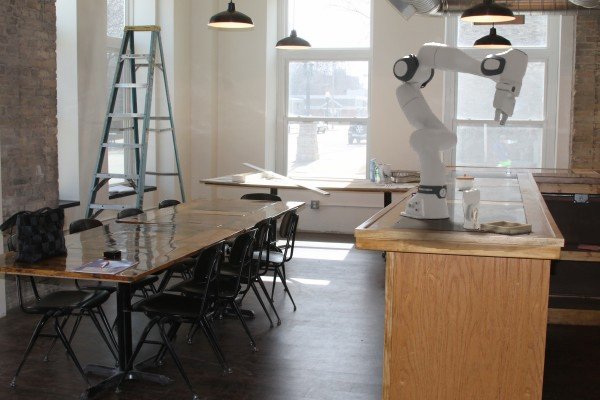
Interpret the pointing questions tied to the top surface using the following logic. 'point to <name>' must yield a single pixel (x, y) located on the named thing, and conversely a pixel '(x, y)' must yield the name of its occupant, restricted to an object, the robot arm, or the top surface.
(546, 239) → the top surface
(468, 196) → the beer glass
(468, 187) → the lidded jar
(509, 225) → the oak tray
